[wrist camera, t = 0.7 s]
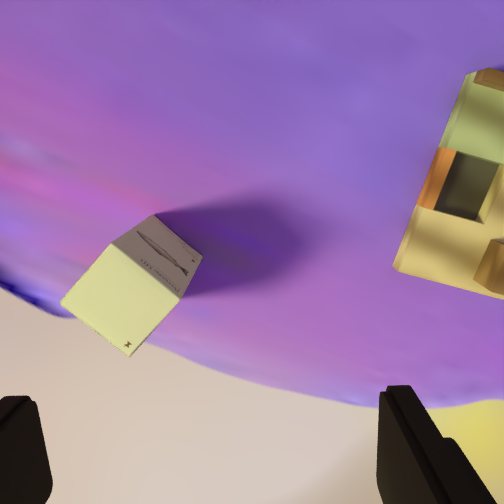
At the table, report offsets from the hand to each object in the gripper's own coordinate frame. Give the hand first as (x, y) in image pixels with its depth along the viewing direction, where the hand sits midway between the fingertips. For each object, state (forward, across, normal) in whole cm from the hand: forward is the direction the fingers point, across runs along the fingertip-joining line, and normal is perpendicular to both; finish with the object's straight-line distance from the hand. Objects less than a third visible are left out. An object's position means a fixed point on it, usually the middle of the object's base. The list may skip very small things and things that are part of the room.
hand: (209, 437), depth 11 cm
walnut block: (+31, -26, +6) cm, 41 cm away
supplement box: (+34, +10, +4) cm, 35 cm away
